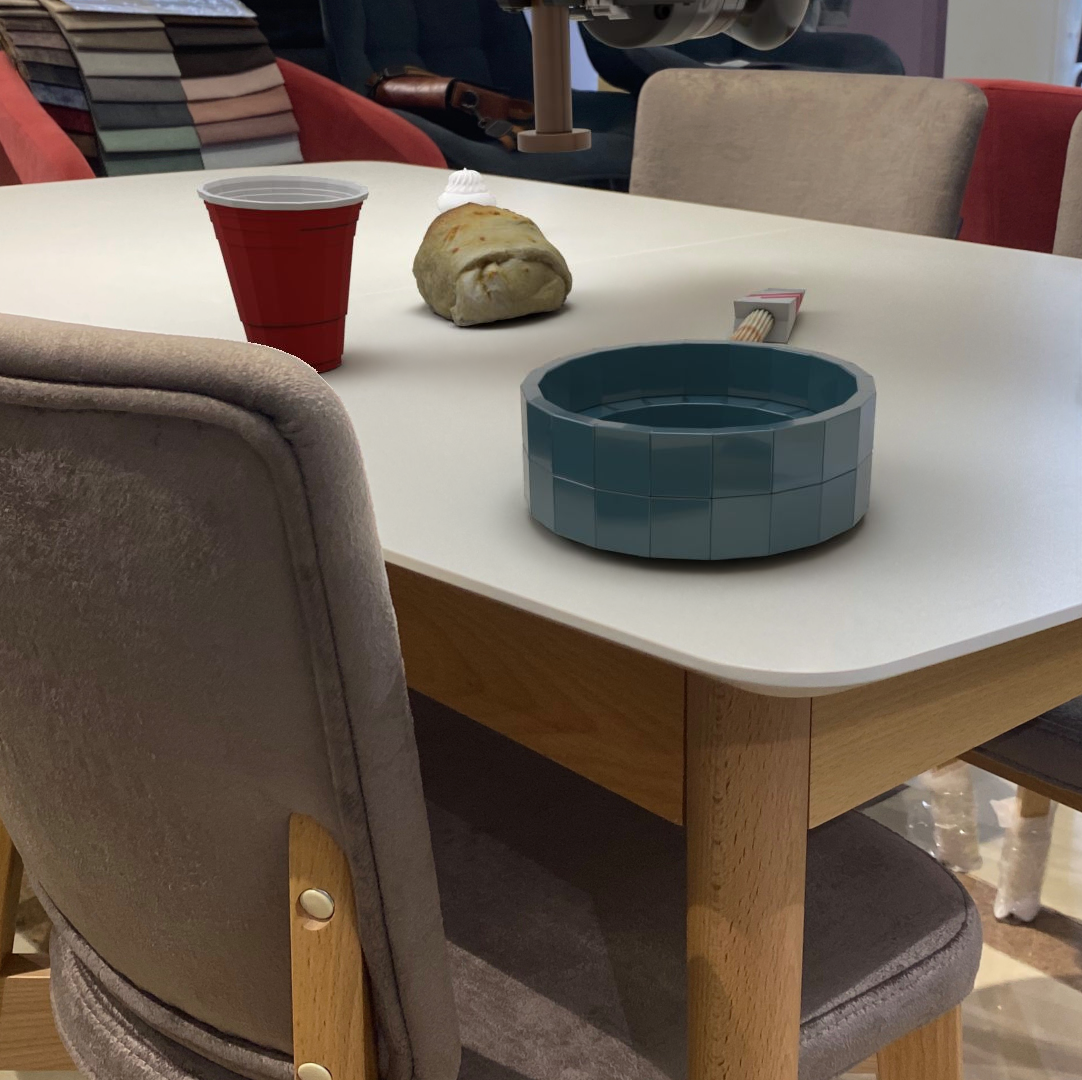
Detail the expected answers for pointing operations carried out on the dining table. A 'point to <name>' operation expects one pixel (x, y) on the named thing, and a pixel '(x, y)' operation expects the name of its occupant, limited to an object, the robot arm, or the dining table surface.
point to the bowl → (698, 447)
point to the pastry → (489, 266)
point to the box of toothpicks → (766, 315)
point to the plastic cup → (288, 258)
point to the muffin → (465, 191)
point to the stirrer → (552, 85)
